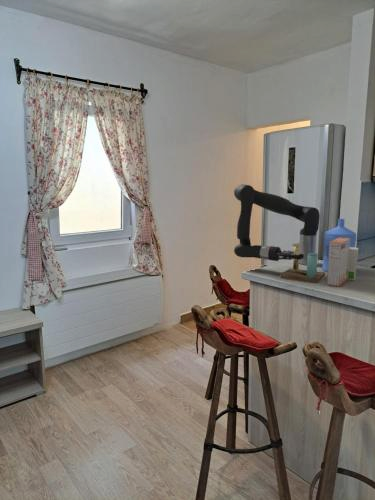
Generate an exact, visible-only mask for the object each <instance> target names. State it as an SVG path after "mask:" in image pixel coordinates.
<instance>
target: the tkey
mask: <svg viewBox="0 0 375 500" xmlns="http://www.w3.org/2000/svg"><path fill="white" fill-rule="evenodd" d="M300 246H301V243H299V242H298V243H292V247H293V252H294V255H299V248H300ZM299 265H300V264H299V260H298V259H293V265H292V269H294V271H297V272H301V273H303V274H306V273H307V269H301V268H299Z"/></svg>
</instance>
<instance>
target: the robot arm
mask: <svg viewBox="0 0 375 500" xmlns="http://www.w3.org/2000/svg"><path fill="white" fill-rule="evenodd" d="M233 194H234V197H235V198H236V200H238V201H239V202H240V212H239V213H240V214H239V216H238V220H237V225H236V238H237V239H238V240H239V244H237V245H236V246H235V247H234V249H233V252H234V254H235V255H236V256H237V257H239V258H253V259H262V260H267V261H274V262H279V260H289V261H291V260H294V259H298V260H299V265H303V266H307V256H308V253H316V247H317V234H318V230H319V229H320V228H319V225H320V219H321V218H320V216H321V215H320V210H319V209H318V208H316V207H313V206H304V205H298V204H296V203H294V202H291V201H290V200H289V199H287V198H285V197H283V196H280V195H276V194H273V193H268V192H264V191H263V192H262V191H259V190H256V189H254V186H252V185H250V184H240V185H239V184H238V186H236V187H235V189H234V190H233ZM253 204H254V205H256V206H258V207H261V208H262V209H265V210H268V211H270V212H273V213H275V214H278V215H283V216H289V217H292V218H294V219H296V220H298V221H300V222H302V223H303V228H301V229H300V231H299V242H298V243H301V246H300V248H299V255H294V250H282V249H281V247H280V246H274V245H273V246H272V245H259V244H254V245H252V243H251V238H250V233H251V219H252V218H251V217H252V212H253Z"/></svg>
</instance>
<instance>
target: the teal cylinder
mask: <svg viewBox="0 0 375 500" xmlns="http://www.w3.org/2000/svg"><path fill="white" fill-rule="evenodd" d="M318 256H319V255H318V253H316V252H315V253H308V256H307V265H306V270H307V273H306V277H307V278H316V274H317V272H318V269H317V268H318V258H319V257H318Z"/></svg>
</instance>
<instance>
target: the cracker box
mask: <svg viewBox="0 0 375 500" xmlns="http://www.w3.org/2000/svg"><path fill="white" fill-rule="evenodd" d="M350 241H351V239H350V238H337V239H335V240H332V241H330V243H329V254H328V255H329V263H328V272H327V286H333V287H341V286H342V285H343V284H345V283H346V282H348V281H349V280H348V272H349V257H350Z"/></svg>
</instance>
